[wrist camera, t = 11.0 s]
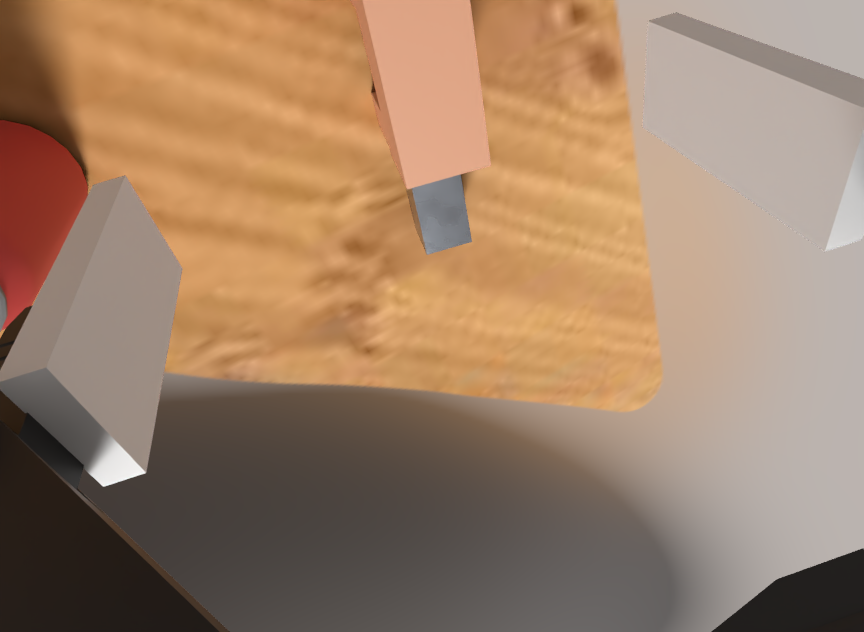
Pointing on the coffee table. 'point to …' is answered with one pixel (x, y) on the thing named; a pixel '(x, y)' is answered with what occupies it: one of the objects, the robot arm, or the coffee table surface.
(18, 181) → the beer can
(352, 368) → the coffee table surface
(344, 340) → the coffee table surface
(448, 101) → the salmon pink bridge block
